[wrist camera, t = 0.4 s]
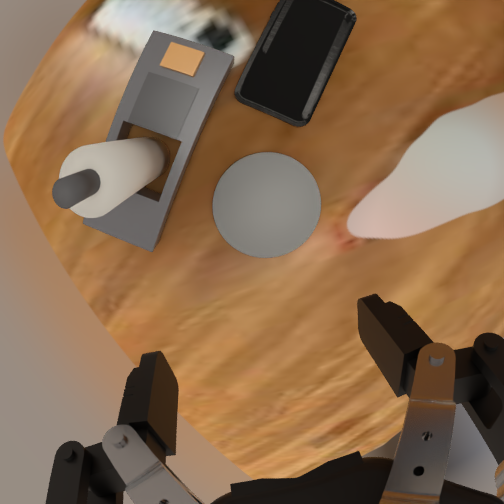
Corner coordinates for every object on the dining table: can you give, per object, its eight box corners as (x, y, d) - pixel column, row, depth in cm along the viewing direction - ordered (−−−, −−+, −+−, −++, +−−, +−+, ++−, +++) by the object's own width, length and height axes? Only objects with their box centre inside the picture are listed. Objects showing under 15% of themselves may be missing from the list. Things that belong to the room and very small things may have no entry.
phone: (359, 13, 23) (305, 130, 28) (355, 17, 24) (302, 130, 29) (290, -20, 22) (229, 97, 26) (288, -16, 23) (229, 98, 28)
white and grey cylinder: (137, 130, 28) (42, 139, 12) (176, 145, 29) (112, 165, 13) (123, 170, 29) (27, 218, 13) (160, 185, 30) (90, 247, 14)
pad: (239, 134, 29) (239, 134, 28) (337, 180, 31) (338, 181, 30) (197, 232, 32) (196, 234, 32) (290, 269, 34) (291, 272, 34)
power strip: (160, 38, 24) (151, 27, 21) (233, 62, 26) (234, 54, 22) (94, 215, 31) (79, 226, 27) (158, 241, 32) (150, 255, 29)
